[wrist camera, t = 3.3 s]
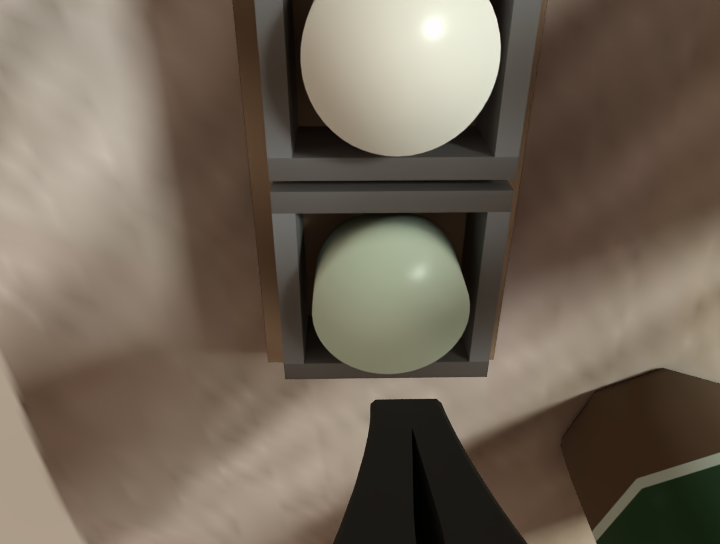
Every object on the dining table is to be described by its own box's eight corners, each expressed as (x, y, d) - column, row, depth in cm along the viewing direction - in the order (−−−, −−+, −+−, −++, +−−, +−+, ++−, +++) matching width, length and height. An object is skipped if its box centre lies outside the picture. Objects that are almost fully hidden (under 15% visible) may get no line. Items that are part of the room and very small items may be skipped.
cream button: (514, 58, 15) (537, 78, 13) (377, 160, 16) (380, 190, 14) (415, -103, 13) (425, -105, 11) (268, 26, 14) (258, 43, 12)
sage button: (484, 283, 18) (499, 323, 16) (373, 353, 19) (375, 396, 17) (402, 181, 16) (409, 213, 14) (285, 264, 17) (279, 303, 16)
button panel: (186, -614, 11) (115, -846, 8) (614, -606, 11) (732, -831, 8) (272, 336, 23) (259, 413, 19) (485, 334, 23) (509, 409, 19)
